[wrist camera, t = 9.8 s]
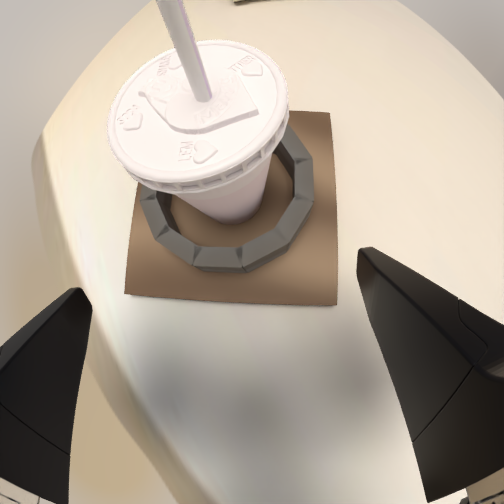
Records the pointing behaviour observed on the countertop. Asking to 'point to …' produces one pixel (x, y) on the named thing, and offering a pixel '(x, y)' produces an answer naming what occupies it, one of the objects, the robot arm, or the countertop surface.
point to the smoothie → (201, 121)
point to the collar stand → (247, 233)
